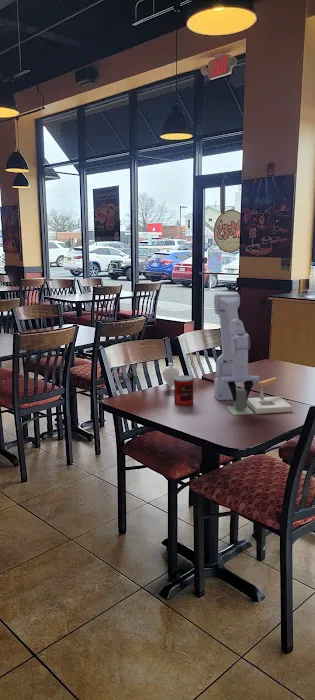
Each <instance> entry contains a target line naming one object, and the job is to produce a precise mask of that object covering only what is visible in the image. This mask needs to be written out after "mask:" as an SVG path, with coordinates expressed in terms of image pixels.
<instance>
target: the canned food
mask: <svg viewBox="0 0 315 700" xmlns="http://www.w3.org/2000/svg"><path fill="white" fill-rule="evenodd" d="M173 396H174V397H173V399H174V404H175V405H176V406H177V407H191V406H193V404H194V378H193V376H190V375H179V376H176V377H174V385H173Z"/></svg>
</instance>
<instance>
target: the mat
mask: <svg viewBox="0 0 315 700" xmlns="http://www.w3.org/2000/svg"><path fill="white" fill-rule="evenodd" d="M226 408H227V409H228V410H229V412H230V413H231V414H232V416H240V415H243V416H244V415H253V414H255V412H254V411H253V410H252V409H251V408H250V407H249V406H247V408H245V409H236V408H235V407H234V405H231V406H230V405H229V406H226Z"/></svg>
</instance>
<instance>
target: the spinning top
mask: <svg viewBox="0 0 315 700" xmlns="http://www.w3.org/2000/svg"><path fill="white" fill-rule="evenodd" d="M176 376H180V370H179V369H178V367H177V366H174V364H173V363H172V362H168V366H166V367H164V369H163V370H162V377H163V380H164V381H165V383H166V384H167V385H168V386H169V387H170V390H172V387H174V377H176Z"/></svg>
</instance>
